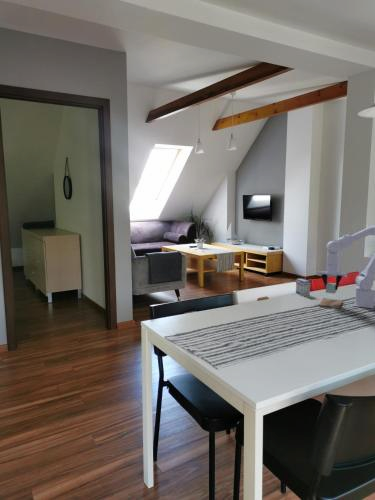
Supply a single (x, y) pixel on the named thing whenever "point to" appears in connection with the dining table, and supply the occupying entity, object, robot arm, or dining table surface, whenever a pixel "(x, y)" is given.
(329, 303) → the walnut board
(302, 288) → the medicine box
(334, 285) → the teal cube
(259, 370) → the dining table surface
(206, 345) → the dining table surface
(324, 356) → the dining table surface
